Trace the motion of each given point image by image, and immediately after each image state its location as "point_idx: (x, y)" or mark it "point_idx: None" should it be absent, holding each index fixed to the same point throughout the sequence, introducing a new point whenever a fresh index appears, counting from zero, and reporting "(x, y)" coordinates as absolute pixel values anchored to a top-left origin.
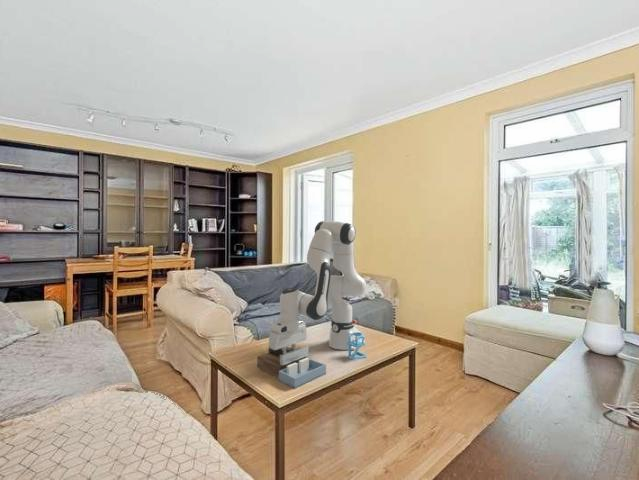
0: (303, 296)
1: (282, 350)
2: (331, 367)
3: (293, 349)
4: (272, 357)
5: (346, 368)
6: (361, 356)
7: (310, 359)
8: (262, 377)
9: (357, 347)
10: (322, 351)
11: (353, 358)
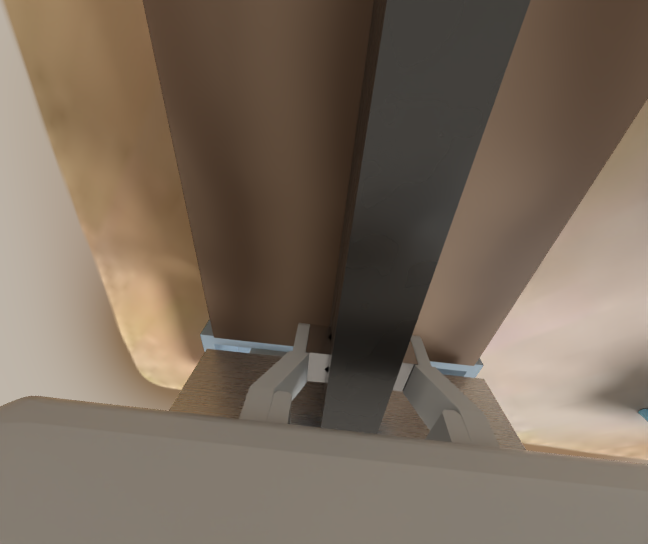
0: None
1: (276, 367)
2: (499, 386)
3: (368, 428)
4: (279, 168)
5: (513, 421)
6: None
7: (466, 372)
8: (162, 207)
9: None
10: None
11: (645, 418)
